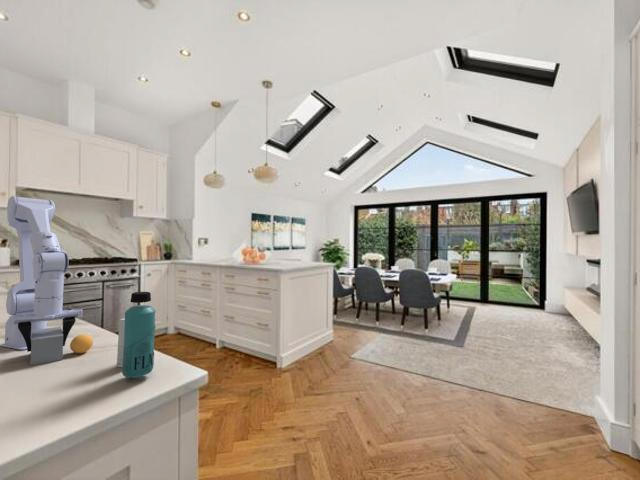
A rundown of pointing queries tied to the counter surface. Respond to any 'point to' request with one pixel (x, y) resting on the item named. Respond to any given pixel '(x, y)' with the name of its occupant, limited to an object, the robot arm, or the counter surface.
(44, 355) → the tall gray prism
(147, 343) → the beverage bottle
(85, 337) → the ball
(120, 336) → the skincare box
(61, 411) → the counter surface
